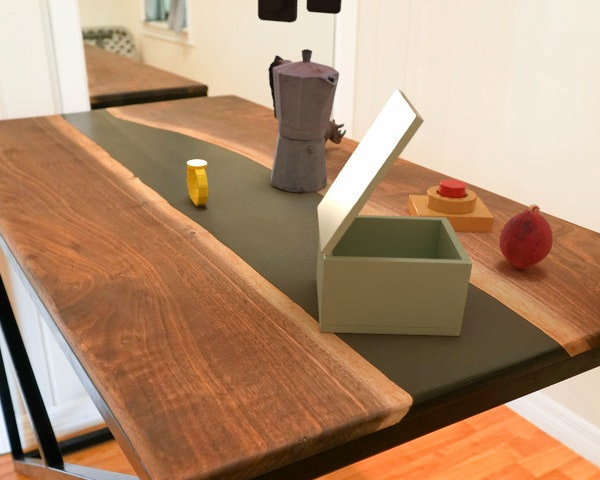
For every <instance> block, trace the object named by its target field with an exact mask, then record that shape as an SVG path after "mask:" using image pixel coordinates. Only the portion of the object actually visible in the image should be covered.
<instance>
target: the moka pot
mask: <svg viewBox="0 0 600 480" xmlns="http://www.w3.org/2000/svg"><path fill="white" fill-rule="evenodd" d="M312 56H313V50H311V49H308V48H306V49H302V50H301V57H302V60H300V61H292V60H290V59H284V58H282V57H281V56H279V55H274V60H273V61H272V62H271V63H270V64H269V67H268V70H267V71H268V80H269V82H268V83H269V87H270V92H271V93H270V94H271V98H272V107H273V117H274V118H275V120H277V122H278V123H277V124H278V127H277V128H278V129H277V130H278V134H277V138H276V142H275V143H276V144H275V151H274V156H273V161H272V167H271V172H270V173H271V174H270V183H271V185H272V186H274V187H275V188H278V190H282V191H284V192H289V193H296V194H305V193H307V194H308V193H314V192H318V191H321V190H323V189H324V188H325V187H326V186H327V184H328V174H327V173H328V171H327V158H326V157H327V155H326V154H327V153H326V151H327V150H326V144H325V138H324V136H325V133H326V125H327V124H328V123H329V122H330V121H331V117H332V113H333V112H332V111H333V106H334V101H335V96H336V92H337V87H338V83H339V77H340V72H339V71H338V70H336V68H333V67H332V66H329V65H327V64H322V63H318V62H314V61H311V60H312V59H311V58H312Z"/></svg>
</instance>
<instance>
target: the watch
mask: <svg viewBox="0 0 600 480" xmlns="http://www.w3.org/2000/svg"><path fill="white" fill-rule="evenodd" d="M186 168H187V169H186V184H187V190H188V195H189V198H190V199H189V200H191V201H192V203H193V204H194V205H195V207H204V206H206V205H207V204H208V201H209V183H208V182H209V181H208V176H207V172H206V169H207V168H208V162H207V161H206V160H204V159H191V160H188V161H187V162H186Z"/></svg>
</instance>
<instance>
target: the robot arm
mask: <svg viewBox="0 0 600 480" xmlns="http://www.w3.org/2000/svg"><path fill="white" fill-rule="evenodd" d="M298 2H299V1H298V0H257V17H258V19H259V20H260V21H265V22H266V21H267V22H279V23H294V22H296V21H297V19H298ZM306 10H307V12H309V13H318V14H330V15H338V14H339V13H341V11H342V0H306Z"/></svg>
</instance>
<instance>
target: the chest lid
mask: <svg viewBox="0 0 600 480" xmlns="http://www.w3.org/2000/svg"><path fill="white" fill-rule="evenodd" d="M424 122H425V120H424V118H423V117H422V116H421V114H420V113H419V111H418V110H417V109H416V108H415V106H414V105H413V104H412V103H411V101H410V99H409V98H408V97H407V95H406V94H405V93H404V91H401V90H400V89H399V88H396V89H395V90H394V92H393V94H392V95H391V96H390V98H389V100H388V101H387V103H386V104H385V106H384V107H383V108H382V110H381V112H380V113H379V114H378V116H377V118H376V119H375V121H374V122H373V123H372V125H371V127H370V128H369V129H368V131H367V132H366V134H365V135H364V137H363V139H362V140H361V141H360V142H359V144H358V146H357V147H356V149H355V150H354V152H353V153H352V154H351V156H350V158H349V159H348V161H347V162H346V163H345V165H344V167H343V168H342V170H340V172H339V174H338V175H337V177H336V179H335V180H334V181H333V183H332V184H331V186H330V188H329V189H328V190H327V192H326V194H325V195H324V197H323V198H322V199H321V200H320V203H319V204H318V205H317V207H316V210H317V220H318V234H319V233H320V244H321V252H322V253H323V254H325V255H327V256H329V255H330V253H331V252H332V250H333V249H334V248H335V246H336V245H337V243H338V242H339V240H340V239H341V238H342V236H343V235H344V233H345V232H346V231H347V229H348V228H349V226H350V225H351V223H352V222H353V221H354V219H355V218H356V216H357V215H360V212H361V211H362V209H363V208H364V207H365V205H366V204H367V202H368V201H369V200H370V198H371V196H372V195H373V194H374V192H375V191H376V189H377V188H378V187H379V185H380V184H381V183H382V181H383V180H384V178H385V177H386V176H387V174H388V173H389V171H390V170H391V168H392V167H393V166H394V164H395V163H396V162H397V160H398V158H399V157H400V156H401V154H402V153H403V152H404V150H405V149H406V147H407V146H408V145H409V143H410V141H411V140H412V139H413V137H414V136H415V134H416V133H417V131H418V130H419V129H420V128H421V126H422V125H423V123H424Z"/></svg>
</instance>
